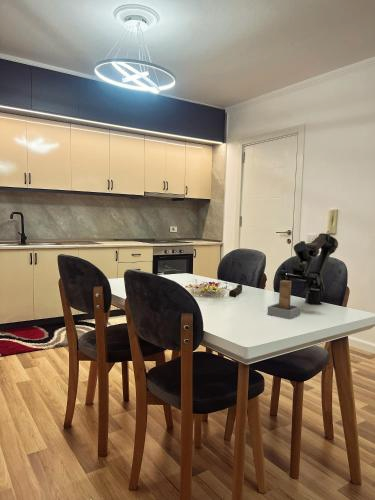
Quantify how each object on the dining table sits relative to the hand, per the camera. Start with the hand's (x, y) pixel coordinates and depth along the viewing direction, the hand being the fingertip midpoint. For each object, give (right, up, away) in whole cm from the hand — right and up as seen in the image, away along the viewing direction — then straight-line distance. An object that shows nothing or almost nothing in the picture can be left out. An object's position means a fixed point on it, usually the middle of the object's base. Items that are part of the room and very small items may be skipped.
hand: (292, 292), depth 168 cm
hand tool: (-20, -6, +38) cm, 43 cm away
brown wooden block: (-5, -8, -5) cm, 11 cm away
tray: (-5, -9, -5) cm, 12 cm away
